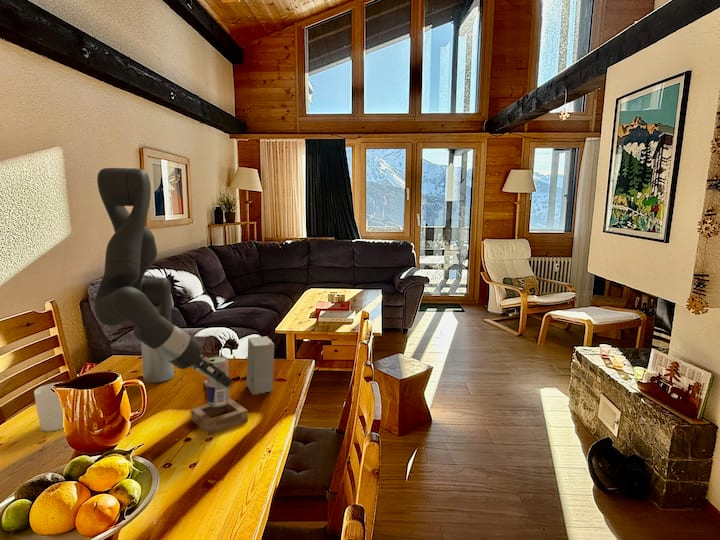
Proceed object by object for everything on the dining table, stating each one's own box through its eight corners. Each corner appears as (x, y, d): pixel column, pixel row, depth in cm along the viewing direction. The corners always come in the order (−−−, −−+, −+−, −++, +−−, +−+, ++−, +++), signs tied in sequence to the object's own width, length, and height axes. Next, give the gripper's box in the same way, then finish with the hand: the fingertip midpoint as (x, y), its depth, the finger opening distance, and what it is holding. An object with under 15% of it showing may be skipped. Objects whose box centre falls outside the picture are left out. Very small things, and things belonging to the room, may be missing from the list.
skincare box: (246, 385, 134) (244, 337, 132) (268, 381, 137) (267, 334, 135) (252, 396, 127) (251, 345, 124) (275, 392, 130) (275, 342, 128)
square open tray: (191, 419, 112) (191, 409, 112) (228, 407, 120) (228, 397, 119) (209, 435, 105) (209, 424, 104) (247, 420, 112) (247, 410, 112)
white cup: (30, 429, 106) (26, 391, 105) (61, 415, 114) (58, 379, 112) (51, 435, 104) (48, 397, 102) (82, 420, 111) (79, 384, 110)
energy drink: (210, 398, 114) (209, 355, 112) (231, 398, 114) (230, 355, 112) (205, 408, 108) (203, 363, 107) (226, 407, 109) (225, 362, 107)
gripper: (199, 340, 98) (247, 376, 108) (175, 327, 108) (221, 361, 118) (177, 367, 95) (228, 402, 105) (154, 352, 105) (203, 384, 115)
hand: (224, 380), depth 112 cm, fingers closed on energy drink, 5 cm apart
